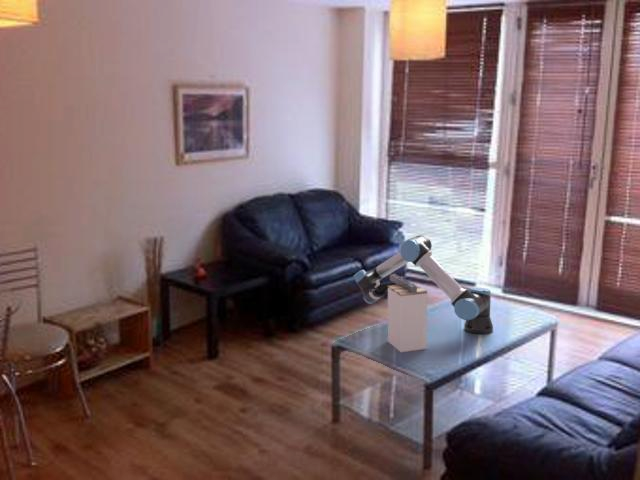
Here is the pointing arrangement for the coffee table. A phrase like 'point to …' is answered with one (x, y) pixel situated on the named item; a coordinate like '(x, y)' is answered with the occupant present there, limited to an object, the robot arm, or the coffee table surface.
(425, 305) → the pedestal
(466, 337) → the coffee table surface
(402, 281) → the metal bar
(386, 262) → the robot arm
